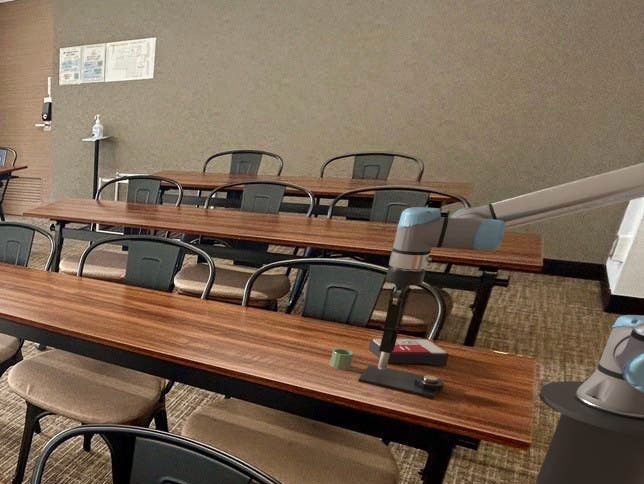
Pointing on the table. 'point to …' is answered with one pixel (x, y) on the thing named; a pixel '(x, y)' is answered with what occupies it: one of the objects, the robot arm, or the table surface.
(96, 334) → the table surface
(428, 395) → the tablet
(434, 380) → the button
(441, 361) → the calculator
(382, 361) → the stylus
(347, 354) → the pen cup
